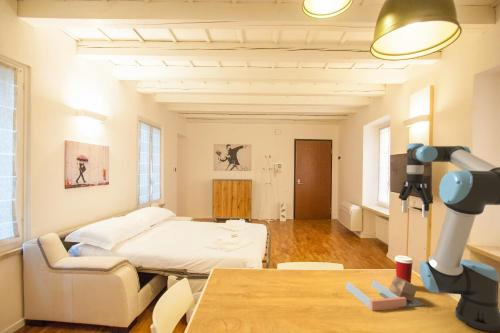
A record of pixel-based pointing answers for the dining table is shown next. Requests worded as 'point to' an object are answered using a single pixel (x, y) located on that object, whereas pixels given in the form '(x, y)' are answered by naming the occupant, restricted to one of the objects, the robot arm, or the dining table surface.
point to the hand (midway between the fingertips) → (414, 214)
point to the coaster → (408, 302)
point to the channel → (378, 304)
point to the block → (403, 288)
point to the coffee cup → (404, 267)
